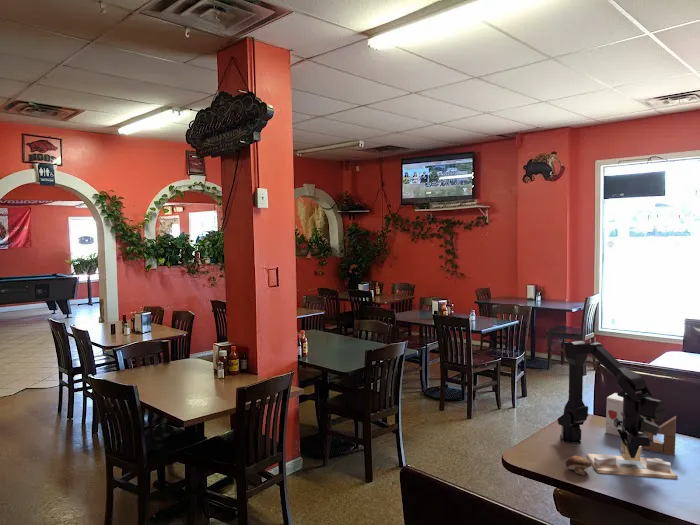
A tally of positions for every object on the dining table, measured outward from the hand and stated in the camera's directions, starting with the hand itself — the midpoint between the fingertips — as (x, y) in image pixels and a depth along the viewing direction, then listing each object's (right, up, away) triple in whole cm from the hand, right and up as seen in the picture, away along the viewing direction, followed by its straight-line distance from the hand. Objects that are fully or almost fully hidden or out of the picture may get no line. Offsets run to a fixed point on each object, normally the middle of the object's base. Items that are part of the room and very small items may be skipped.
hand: (630, 455), depth 180 cm
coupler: (0, -1, 0) cm, 1 cm away
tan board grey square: (0, -4, 0) cm, 4 cm away
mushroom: (-20, -5, -3) cm, 21 cm away
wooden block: (+18, -4, +13) cm, 22 cm away
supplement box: (+13, -3, +30) cm, 33 cm away
